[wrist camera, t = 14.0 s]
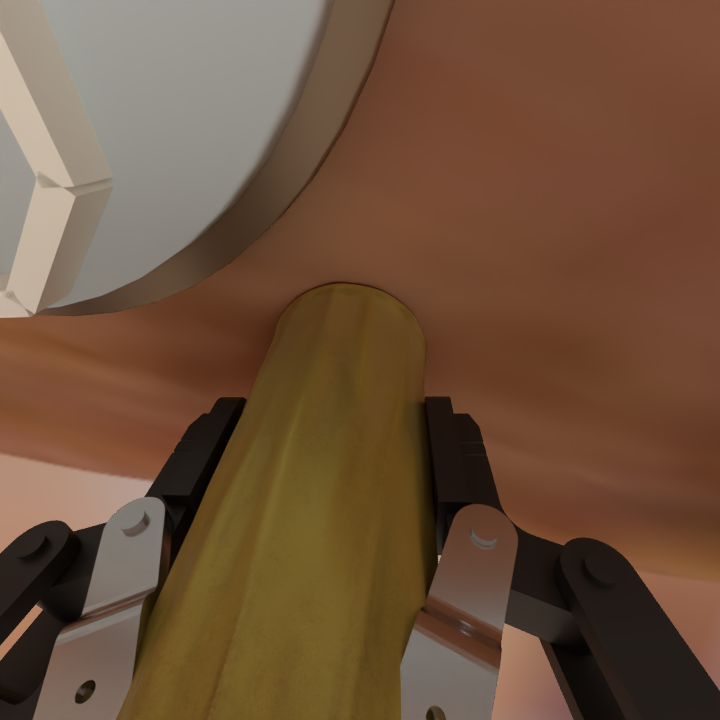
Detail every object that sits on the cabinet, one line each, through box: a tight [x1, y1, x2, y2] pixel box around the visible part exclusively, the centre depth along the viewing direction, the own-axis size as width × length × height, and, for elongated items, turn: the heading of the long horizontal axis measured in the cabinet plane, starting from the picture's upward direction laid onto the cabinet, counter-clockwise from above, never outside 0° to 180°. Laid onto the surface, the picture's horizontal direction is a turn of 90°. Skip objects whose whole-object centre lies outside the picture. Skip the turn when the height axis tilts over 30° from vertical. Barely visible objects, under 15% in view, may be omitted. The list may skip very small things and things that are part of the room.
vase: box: [116, 283, 439, 720], centre depth 9 cm, size 6×6×14 cm
